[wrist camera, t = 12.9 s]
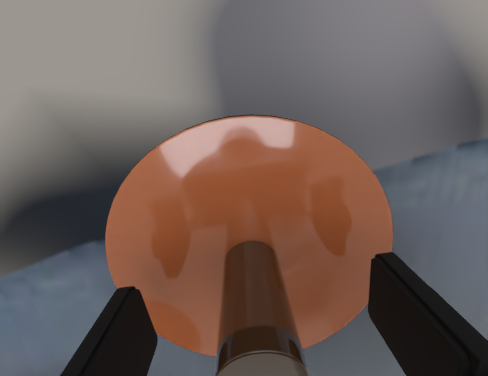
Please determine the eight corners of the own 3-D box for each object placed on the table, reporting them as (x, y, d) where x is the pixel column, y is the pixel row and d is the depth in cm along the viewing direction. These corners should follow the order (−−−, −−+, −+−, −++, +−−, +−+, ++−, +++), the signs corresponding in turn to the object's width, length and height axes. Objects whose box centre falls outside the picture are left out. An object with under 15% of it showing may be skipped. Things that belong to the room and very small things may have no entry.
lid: (389, 92, 10) (628, 73, 4) (371, 325, 14) (465, 479, 8) (74, 138, 10) (-162, 188, 4) (158, 352, 14) (104, 519, 9)
